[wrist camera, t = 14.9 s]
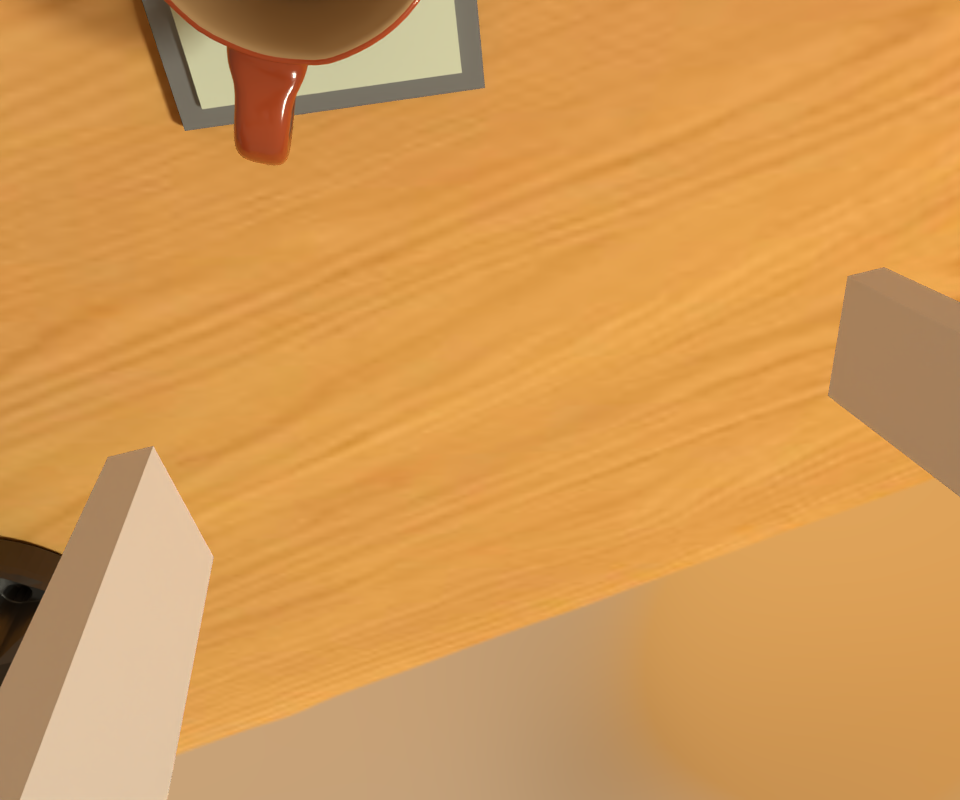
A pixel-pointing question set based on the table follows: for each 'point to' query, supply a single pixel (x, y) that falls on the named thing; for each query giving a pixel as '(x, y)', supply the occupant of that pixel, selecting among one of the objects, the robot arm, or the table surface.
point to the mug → (284, 55)
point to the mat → (346, 83)
